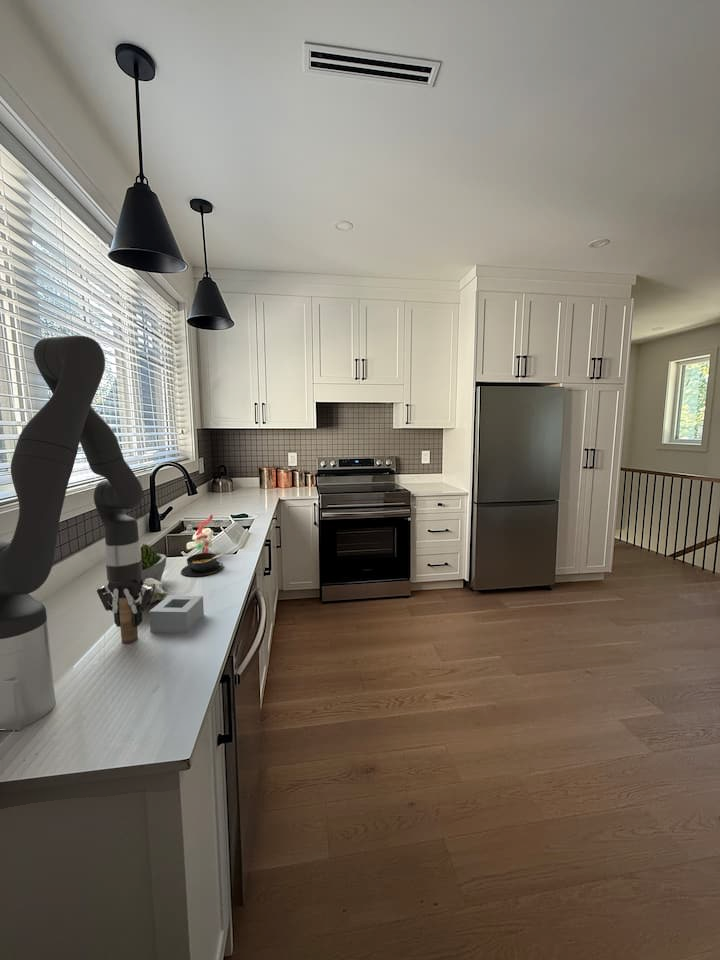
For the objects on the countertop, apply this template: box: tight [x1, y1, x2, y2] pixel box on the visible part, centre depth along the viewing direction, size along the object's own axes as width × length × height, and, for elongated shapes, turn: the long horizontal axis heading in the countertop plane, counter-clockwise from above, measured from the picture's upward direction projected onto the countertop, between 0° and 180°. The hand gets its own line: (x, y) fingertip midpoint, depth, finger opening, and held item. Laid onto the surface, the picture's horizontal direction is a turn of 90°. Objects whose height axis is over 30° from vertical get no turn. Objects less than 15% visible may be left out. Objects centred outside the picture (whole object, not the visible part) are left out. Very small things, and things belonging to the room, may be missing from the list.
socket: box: [148, 595, 205, 634], centre depth 108 cm, size 10×10×6 cm
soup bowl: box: [180, 552, 225, 577], centre depth 149 cm, size 15×16×7 cm
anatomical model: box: [185, 514, 214, 553], centre depth 164 cm, size 15×11×18 cm
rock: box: [140, 578, 168, 605], centre depth 119 cm, size 19×11×10 cm, turn 16°
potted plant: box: [140, 543, 167, 582], centre depth 134 cm, size 12×13×15 cm
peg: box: [119, 598, 139, 645], centre depth 99 cm, size 4×4×12 cm
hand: (128, 625), depth 99 cm, fingers closed on peg, 3 cm apart
